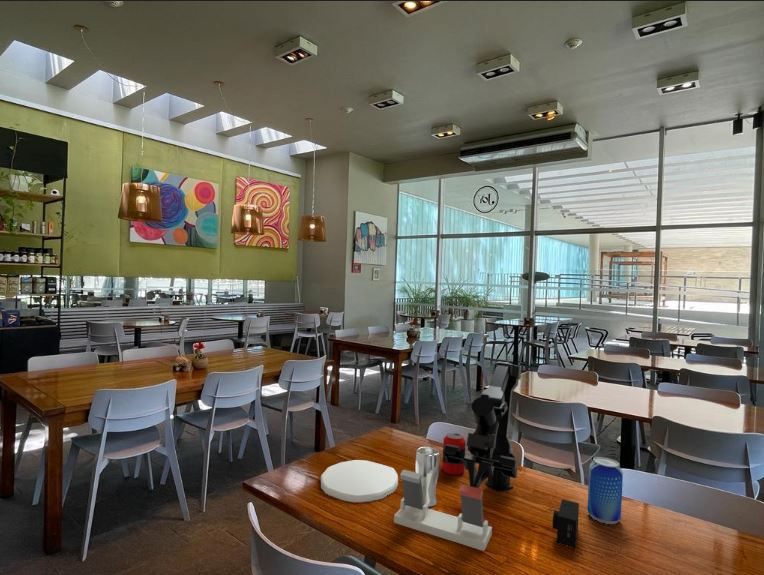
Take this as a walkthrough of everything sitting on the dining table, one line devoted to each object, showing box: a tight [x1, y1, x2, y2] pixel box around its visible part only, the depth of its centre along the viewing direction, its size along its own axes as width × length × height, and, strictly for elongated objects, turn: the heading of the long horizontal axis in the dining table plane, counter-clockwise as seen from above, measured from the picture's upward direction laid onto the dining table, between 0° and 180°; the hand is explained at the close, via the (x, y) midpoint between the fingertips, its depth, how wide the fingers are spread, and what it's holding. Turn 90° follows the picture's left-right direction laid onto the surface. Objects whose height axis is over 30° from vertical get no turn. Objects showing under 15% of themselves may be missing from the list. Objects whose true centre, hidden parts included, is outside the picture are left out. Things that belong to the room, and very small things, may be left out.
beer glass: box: [414, 446, 440, 508], centre depth 126 cm, size 7×7×15 cm
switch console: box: [393, 496, 493, 552], centre depth 113 cm, size 8×24×5 cm, turn 63°
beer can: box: [587, 456, 624, 525], centre depth 121 cm, size 8×8×16 cm
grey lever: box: [400, 469, 424, 510], centre depth 115 cm, size 2×5×11 cm, turn 63°
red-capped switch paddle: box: [458, 483, 484, 527], centre depth 108 cm, size 2×5×11 cm, turn 63°
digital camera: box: [552, 498, 580, 549], centre depth 112 cm, size 10×5×7 cm, turn 152°
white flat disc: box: [320, 459, 399, 503], centre depth 137 cm, size 25×4×25 cm
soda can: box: [441, 432, 467, 476], centre depth 149 cm, size 8×8×12 cm
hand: (472, 492), depth 107 cm, fingers closed, pressing on red-capped switch paddle
